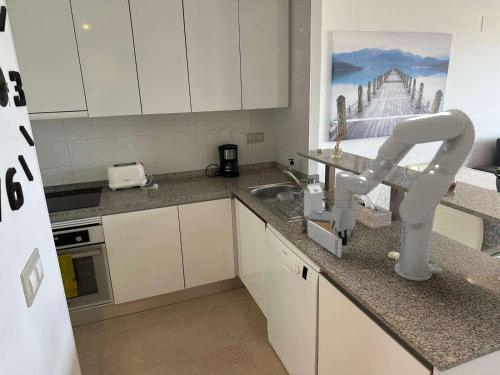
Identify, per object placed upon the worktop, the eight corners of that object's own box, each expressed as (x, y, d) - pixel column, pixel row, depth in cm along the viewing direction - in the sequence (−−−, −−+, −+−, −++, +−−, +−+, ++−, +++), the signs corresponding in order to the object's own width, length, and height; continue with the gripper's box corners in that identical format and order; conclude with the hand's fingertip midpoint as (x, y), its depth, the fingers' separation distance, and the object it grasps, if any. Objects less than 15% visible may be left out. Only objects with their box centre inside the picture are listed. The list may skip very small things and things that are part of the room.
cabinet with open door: (351, 231, 166) (352, 211, 163) (348, 241, 155) (349, 220, 152) (306, 226, 174) (306, 207, 171) (300, 235, 163) (300, 215, 160)
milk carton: (303, 216, 187) (304, 182, 182) (315, 214, 189) (315, 181, 184) (310, 220, 181) (311, 186, 175) (322, 218, 183) (323, 184, 178)
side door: (341, 257, 140) (342, 239, 138) (338, 258, 139) (339, 240, 137) (308, 235, 162) (308, 219, 160) (305, 236, 161) (305, 220, 159)
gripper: (351, 196, 144) (349, 237, 149) (323, 203, 137) (322, 245, 142) (364, 201, 137) (362, 243, 142) (336, 208, 130) (335, 252, 135)
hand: (342, 244), depth 142 cm, fingers closed
